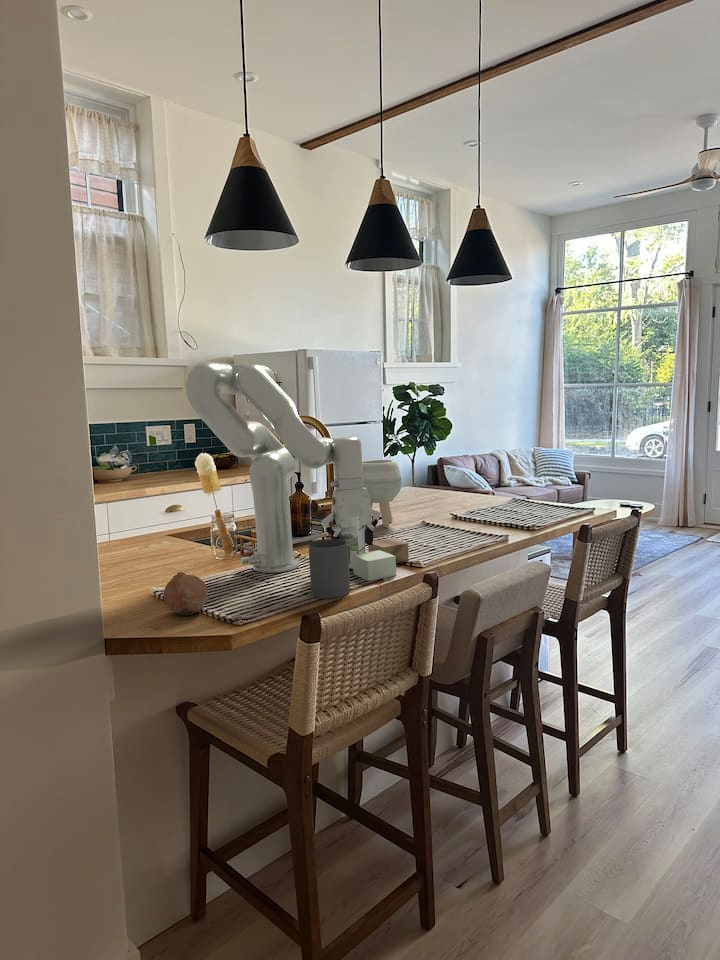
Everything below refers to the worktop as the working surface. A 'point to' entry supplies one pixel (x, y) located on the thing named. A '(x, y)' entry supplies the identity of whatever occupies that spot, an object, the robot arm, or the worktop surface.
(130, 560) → the worktop surface
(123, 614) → the worktop surface
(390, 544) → the walnut block
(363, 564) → the sage block
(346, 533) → the syrup box
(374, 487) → the planter
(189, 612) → the onion
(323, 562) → the mug
